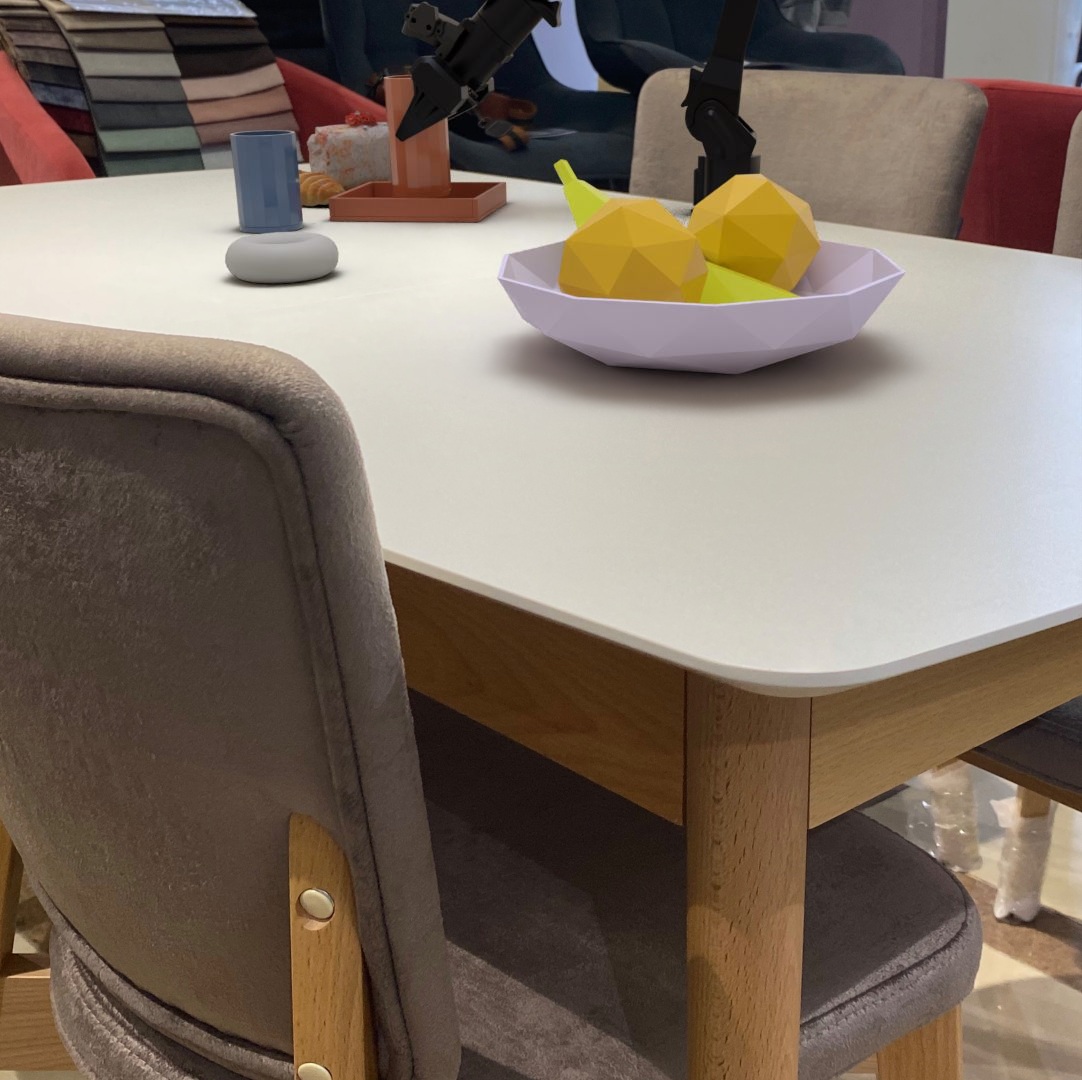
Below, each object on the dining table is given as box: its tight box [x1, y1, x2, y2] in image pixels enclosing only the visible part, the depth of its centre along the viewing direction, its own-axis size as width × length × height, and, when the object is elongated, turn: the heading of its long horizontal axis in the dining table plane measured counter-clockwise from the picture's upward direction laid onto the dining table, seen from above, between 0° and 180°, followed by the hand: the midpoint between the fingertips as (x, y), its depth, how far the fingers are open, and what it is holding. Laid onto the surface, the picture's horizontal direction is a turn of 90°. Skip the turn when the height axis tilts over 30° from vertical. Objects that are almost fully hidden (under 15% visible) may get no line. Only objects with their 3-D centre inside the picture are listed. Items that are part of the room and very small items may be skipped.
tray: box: [328, 181, 508, 223], centre depth 151 cm, size 17×15×2 cm
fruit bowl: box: [497, 158, 907, 376], centre depth 87 cm, size 28×27×11 cm
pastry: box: [299, 169, 345, 207], centre depth 159 cm, size 9×7×4 cm
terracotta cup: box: [383, 74, 452, 198], centre depth 149 cm, size 7×7×13 cm
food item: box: [306, 110, 391, 191], centre depth 170 cm, size 14×8×10 cm, turn 110°
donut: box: [224, 231, 340, 284], centre depth 115 cm, size 10×4×10 cm
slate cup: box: [229, 129, 304, 234], centre depth 140 cm, size 7×7×10 cm
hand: (406, 135), depth 149 cm, fingers closed on terracotta cup, 7 cm apart
